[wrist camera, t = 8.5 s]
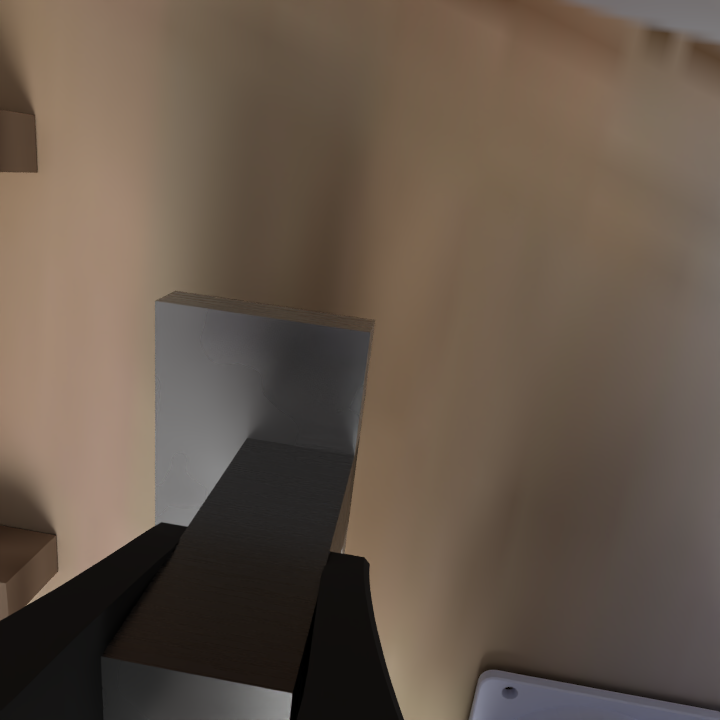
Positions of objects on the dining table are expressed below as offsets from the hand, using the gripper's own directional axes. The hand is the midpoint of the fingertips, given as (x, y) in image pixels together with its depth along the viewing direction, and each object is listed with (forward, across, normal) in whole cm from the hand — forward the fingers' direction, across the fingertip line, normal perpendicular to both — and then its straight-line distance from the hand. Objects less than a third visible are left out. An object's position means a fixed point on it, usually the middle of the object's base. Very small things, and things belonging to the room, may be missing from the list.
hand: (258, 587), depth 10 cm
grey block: (+4, +1, 0) cm, 4 cm away
